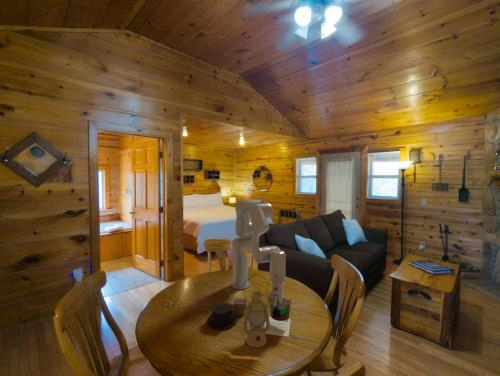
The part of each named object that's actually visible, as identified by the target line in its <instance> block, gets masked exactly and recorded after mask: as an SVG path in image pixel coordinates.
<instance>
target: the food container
mask: <svg viewBox="0 0 500 376" xmlns="http://www.w3.org/2000/svg"><path fill="white" fill-rule="evenodd" d="M267 299H268V300H267V302H269V312H270V313H269V314H270V317H272V318H273V319H274V320H277V321H285V320H288V319H290V309H291V304H292V300H291V298H289V299H286V298H283V301H282V304H281V303H279V301H278V300H277V305H279V309H280V318H277V317H273V303H274V302H272V291H271V292H269V293H268V294H267Z"/></svg>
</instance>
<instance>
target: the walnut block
mask: <svg viewBox="0 0 500 376" xmlns="http://www.w3.org/2000/svg"><path fill="white" fill-rule="evenodd" d="M232 305H233V313H234V314H235V315H237V316H239V315H240V316H245V311H246V308H245V307H247V300H246V301H245V297H244V298H243V297H242V298H241V297H240V298H239V297H235V298H234V301H233V303H232Z"/></svg>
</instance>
